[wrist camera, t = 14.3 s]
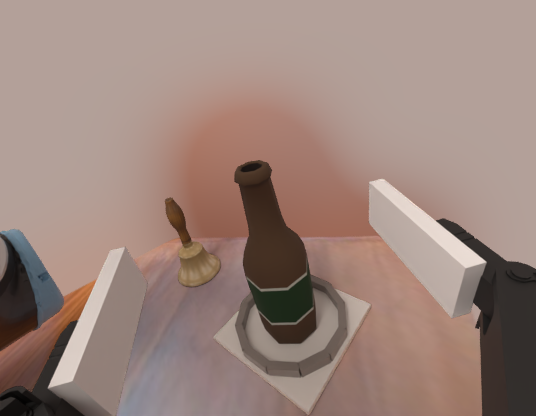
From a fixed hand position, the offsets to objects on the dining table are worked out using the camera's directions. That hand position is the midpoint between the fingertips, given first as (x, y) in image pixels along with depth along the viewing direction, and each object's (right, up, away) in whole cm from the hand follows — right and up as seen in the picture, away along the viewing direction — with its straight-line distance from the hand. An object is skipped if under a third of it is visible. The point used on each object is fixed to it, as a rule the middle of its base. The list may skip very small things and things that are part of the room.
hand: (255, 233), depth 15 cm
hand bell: (-12, -11, +39) cm, 42 cm away
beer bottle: (+4, -15, +24) cm, 29 cm away
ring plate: (+4, -15, +25) cm, 29 cm away
